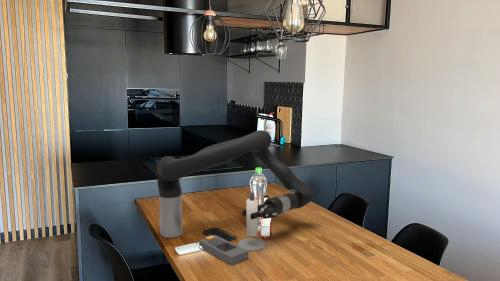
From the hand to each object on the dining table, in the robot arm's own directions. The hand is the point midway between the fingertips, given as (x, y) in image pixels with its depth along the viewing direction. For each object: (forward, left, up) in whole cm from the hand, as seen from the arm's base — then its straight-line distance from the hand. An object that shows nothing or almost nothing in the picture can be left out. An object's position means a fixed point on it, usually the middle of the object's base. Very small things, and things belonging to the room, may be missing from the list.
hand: (247, 215), depth 155 cm
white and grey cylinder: (0, +3, -8) cm, 9 cm away
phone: (-16, -1, -14) cm, 21 cm away
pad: (0, +3, -13) cm, 13 cm away
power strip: (-2, -10, -13) cm, 17 cm away
